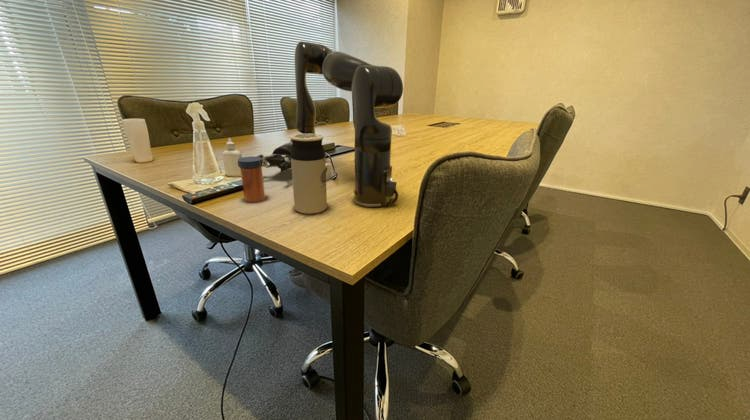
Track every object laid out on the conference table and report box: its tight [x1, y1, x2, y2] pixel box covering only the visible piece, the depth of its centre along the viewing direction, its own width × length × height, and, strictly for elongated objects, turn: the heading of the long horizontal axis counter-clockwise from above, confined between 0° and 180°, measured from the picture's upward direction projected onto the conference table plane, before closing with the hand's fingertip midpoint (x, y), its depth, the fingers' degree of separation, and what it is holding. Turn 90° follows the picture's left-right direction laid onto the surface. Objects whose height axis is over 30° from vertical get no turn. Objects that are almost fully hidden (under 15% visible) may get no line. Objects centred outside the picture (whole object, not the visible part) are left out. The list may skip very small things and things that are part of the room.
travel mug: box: [289, 133, 328, 215], centre depth 73 cm, size 8×8×18 cm
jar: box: [240, 166, 266, 203], centre depth 79 cm, size 5×5×10 cm
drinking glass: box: [121, 118, 154, 164], centre depth 110 cm, size 7×7×15 cm
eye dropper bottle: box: [221, 137, 243, 178], centre depth 98 cm, size 4×6×12 cm
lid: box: [238, 156, 263, 168], centre depth 77 cm, size 6×6×2 cm
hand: (267, 167), depth 88 cm, fingers open, 8 cm apart
